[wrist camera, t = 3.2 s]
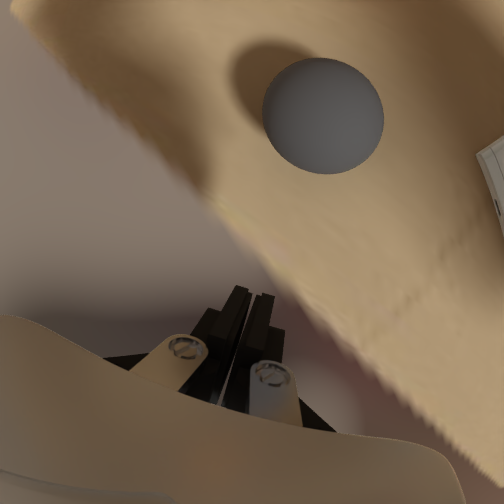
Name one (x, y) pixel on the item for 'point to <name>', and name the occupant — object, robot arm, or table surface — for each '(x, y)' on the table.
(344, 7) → the table surface
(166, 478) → the robot arm
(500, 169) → the hard drive
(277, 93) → the gray ball
